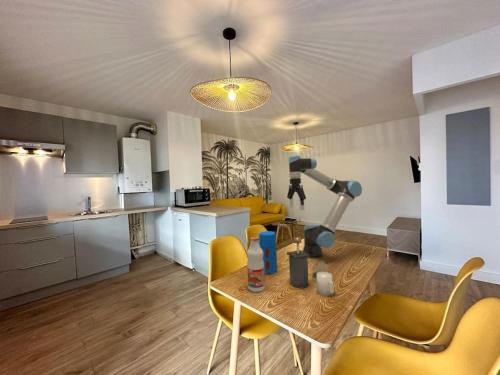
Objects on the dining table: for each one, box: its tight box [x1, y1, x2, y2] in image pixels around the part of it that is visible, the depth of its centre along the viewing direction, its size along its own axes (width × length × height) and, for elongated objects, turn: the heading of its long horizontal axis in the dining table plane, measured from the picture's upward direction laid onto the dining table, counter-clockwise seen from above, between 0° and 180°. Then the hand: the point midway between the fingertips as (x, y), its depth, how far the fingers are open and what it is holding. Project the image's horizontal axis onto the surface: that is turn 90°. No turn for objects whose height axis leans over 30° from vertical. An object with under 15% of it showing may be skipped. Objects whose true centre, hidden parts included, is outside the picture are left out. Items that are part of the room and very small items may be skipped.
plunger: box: [293, 236, 302, 255], centre depth 117 cm, size 8×8×18 cm
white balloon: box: [316, 272, 335, 297], centre depth 106 cm, size 8×10×9 cm
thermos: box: [258, 230, 278, 276], centre depth 135 cm, size 11×11×25 cm
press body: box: [286, 249, 310, 289], centre depth 118 cm, size 10×13×17 cm
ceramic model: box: [311, 260, 331, 283], centre depth 123 cm, size 14×11×10 cm
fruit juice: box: [246, 236, 266, 293], centre depth 114 cm, size 9×9×28 cm
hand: (296, 209), depth 143 cm, fingers open, 13 cm apart
